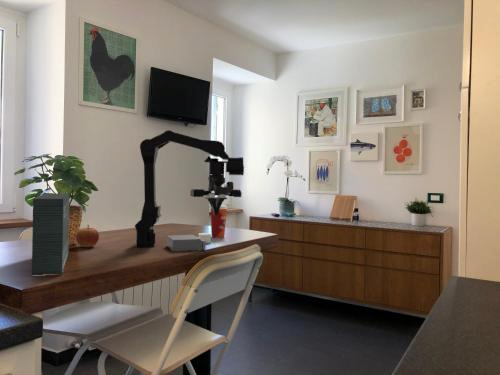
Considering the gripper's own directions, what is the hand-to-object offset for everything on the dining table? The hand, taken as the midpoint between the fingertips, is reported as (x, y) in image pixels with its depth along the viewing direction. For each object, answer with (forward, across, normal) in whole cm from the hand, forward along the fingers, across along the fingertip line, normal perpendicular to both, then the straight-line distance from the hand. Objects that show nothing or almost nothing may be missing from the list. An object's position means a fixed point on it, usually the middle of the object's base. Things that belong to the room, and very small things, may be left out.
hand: (215, 215), depth 154 cm
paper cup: (+12, +9, +24) cm, 28 cm away
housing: (+12, -12, 0) cm, 17 cm away
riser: (+12, -1, +10) cm, 16 cm away
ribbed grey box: (+12, -55, -17) cm, 58 cm away
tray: (+12, -10, 0) cm, 16 cm away
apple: (+12, -45, +10) cm, 48 cm away
